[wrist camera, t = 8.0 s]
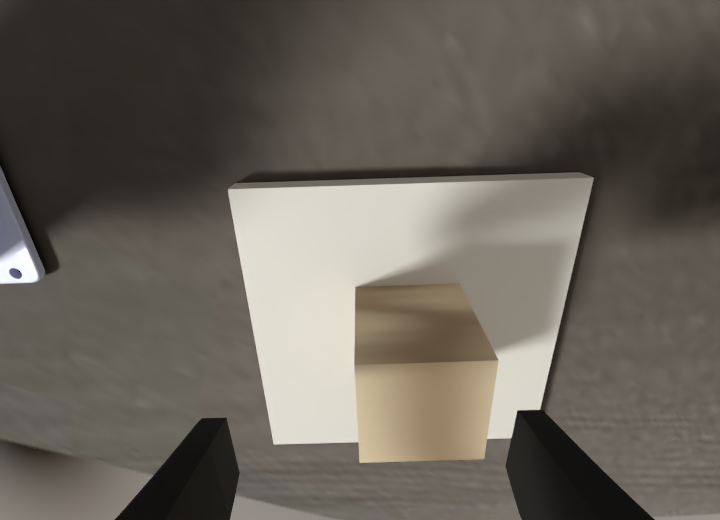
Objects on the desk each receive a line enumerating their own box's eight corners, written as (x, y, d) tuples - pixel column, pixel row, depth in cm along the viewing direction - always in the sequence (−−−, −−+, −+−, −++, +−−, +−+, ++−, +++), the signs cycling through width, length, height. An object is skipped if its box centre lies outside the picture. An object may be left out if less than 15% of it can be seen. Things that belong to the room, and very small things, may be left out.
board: (277, 428, 21) (273, 444, 20) (235, 182, 15) (227, 189, 15) (526, 422, 21) (533, 437, 20) (579, 172, 15) (593, 177, 14)
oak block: (359, 368, 18) (359, 462, 14) (355, 287, 16) (354, 365, 12) (452, 365, 18) (484, 458, 14) (459, 283, 16) (498, 360, 12)
